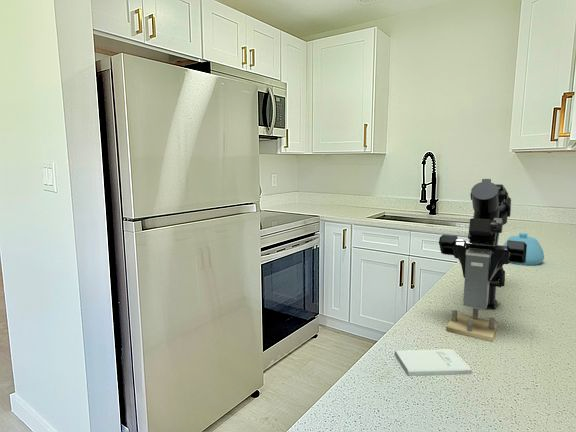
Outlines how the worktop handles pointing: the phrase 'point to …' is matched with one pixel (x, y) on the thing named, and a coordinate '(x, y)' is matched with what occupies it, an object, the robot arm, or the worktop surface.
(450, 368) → the external hard drive
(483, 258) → the tower
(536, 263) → the sugar bowl
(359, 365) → the worktop surface
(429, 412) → the worktop surface
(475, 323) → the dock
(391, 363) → the worktop surface
